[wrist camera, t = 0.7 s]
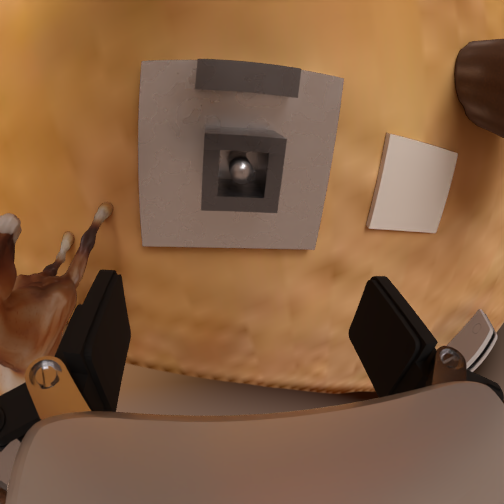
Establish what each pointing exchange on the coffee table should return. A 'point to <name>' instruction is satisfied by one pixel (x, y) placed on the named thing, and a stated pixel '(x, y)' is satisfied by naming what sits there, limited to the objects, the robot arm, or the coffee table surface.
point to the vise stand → (232, 162)
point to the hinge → (475, 340)
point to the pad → (411, 186)
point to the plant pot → (482, 83)
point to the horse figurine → (37, 300)
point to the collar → (255, 191)
